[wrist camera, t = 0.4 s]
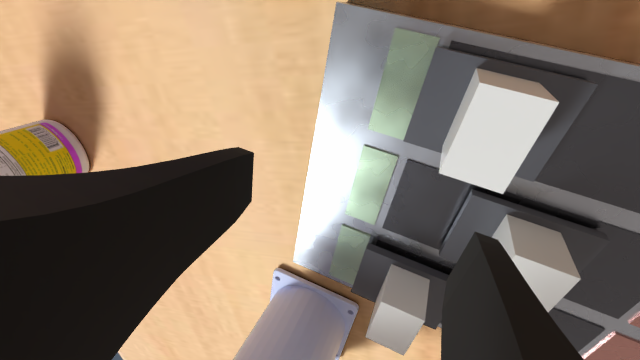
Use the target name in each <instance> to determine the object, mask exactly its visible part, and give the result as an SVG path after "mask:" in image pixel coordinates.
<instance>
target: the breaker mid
mask: <svg viewBox="0 0 640 360" xmlns="http://www.w3.org/2000/svg"><path fill="white" fill-rule="evenodd" d="M474 232H478V233H481V234H483V235H486V236H489V237H492V238H495V239H497V240H499V242H500V243H501V245H502V246H503V247H504V249H505V250H506V252H507V253H508V255H509V256H510V258H511V259H512V261H513V262H514V264H515V265H516V267H517V268H518V270H519V271H520V273H521V274H522V276H523V277H524V279H525V280H526V282H527V283H528V285H529V286H530V288H531V289H532V291H533V292H534V294H535V295H536V296H537V298H538V299H539V301H540V302H541V304H542V305H543V306H544V308H545V309H546V311H547V312H549V311H550V310H551V309H552V308H553V307H554V306H555V305H556V304H557V303H558V302H559V301H560V300H561V299H562V298H563V297H564V296H565V295H566V294H567V293H568V292H569V291H570V290H571V289H572V288H573V287H574V286H575V285H576V284H577V283H578V282H579V281H580V279H581V278H580V275H579V273H580V272H581V271H582V270H583V269H584V268H585V267H586V266H587V265H588V264H589V263H590V262H591V261H592V260H593V259H594V258H595V257H596V256H597V255H598V254H599V253H600V251H601V250H602V249H603V248H604V247H605V246H606V245H607V244H608V243H609V242H610V240H609V239H608V237H607V235H606V234H605V233H603V232H600V231H597V230H594V229H591V228H588V227H585V226H582V225H579V224H576V223H573V222H570V221H567V220H564V219H561V218H558V217H555V216H552V215H549V214H546V213H543V212H540V211H537V210H534V209H531V208H528V207H525V206H522V205H519V204H515V203H512V202H509V201H506V200H503V199H500V198H497V197H494V196H491V195H488V194H485V193H482V192H479V191H476V190H473V189H472V190H471V191H470V193H469V195H468V197H467V199H466V201H465V203H464V204H463V206H462V208H461V210H460V212H459V214H458V216H457V217H456V219H455V221H454V223H453V225H452V227H451V229H450V230H449V232H448V234H447V236H446V238H445V240H444V242H443V243H442V245H441V247H440V249H439V256H440V257H443V258H445V259H448V260H450V261H453V262H455V263H457V261H458V260H459V258H460V256H461V254H462V253H463V251H464V249H465V248H466V246H467V244H468V242H469V241H470V239H471V237H472V236H473V234H474Z"/></svg>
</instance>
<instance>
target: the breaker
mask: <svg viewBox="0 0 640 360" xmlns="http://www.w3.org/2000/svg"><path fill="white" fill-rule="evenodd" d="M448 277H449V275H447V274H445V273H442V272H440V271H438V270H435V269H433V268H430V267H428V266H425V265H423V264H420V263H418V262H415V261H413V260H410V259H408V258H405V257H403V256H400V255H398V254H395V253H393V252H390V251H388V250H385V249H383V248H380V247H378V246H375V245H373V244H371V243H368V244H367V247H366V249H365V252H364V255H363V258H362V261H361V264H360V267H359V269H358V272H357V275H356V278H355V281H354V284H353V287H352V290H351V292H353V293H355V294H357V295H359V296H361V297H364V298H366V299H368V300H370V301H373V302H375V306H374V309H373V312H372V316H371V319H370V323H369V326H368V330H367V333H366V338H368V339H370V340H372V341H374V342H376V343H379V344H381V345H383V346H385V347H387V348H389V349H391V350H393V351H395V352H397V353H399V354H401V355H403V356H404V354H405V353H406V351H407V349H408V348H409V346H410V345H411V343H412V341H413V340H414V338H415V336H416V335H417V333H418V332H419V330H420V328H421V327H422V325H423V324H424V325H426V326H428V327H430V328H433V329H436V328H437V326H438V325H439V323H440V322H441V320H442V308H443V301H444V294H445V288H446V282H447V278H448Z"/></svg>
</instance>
